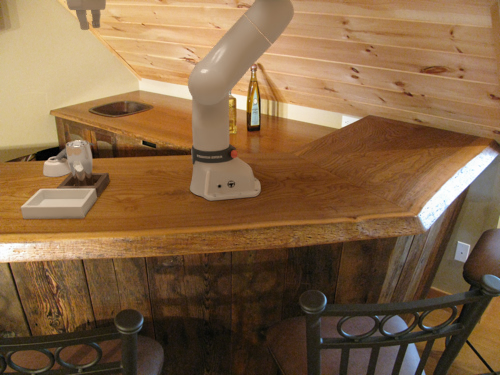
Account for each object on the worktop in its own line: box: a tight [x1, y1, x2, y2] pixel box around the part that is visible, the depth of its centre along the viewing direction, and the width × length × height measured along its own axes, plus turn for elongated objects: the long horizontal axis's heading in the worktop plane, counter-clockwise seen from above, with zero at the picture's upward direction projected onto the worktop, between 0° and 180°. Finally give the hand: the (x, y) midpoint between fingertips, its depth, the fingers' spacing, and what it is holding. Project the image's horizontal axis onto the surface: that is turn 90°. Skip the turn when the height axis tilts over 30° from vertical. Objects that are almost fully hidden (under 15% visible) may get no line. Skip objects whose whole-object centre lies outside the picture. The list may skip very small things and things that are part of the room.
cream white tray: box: [20, 188, 98, 220], centre depth 114 cm, size 16×12×4 cm
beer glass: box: [65, 139, 95, 186], centre depth 124 cm, size 7×7×15 cm
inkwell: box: [42, 142, 95, 178], centre depth 139 cm, size 9×18×10 cm, turn 115°
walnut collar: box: [55, 172, 110, 198], centre depth 126 cm, size 12×12×3 cm
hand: (91, 28), depth 108 cm, fingers open, 8 cm apart
